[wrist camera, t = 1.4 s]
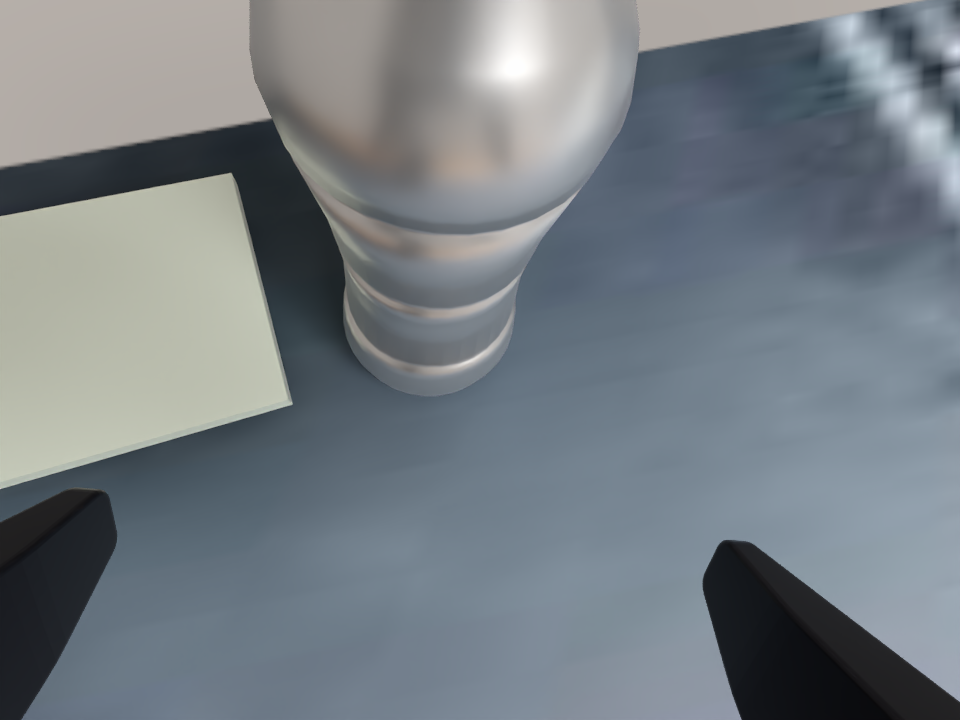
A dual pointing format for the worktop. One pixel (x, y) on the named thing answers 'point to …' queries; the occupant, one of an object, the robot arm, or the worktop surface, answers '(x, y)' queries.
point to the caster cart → (130, 326)
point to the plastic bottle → (442, 155)
